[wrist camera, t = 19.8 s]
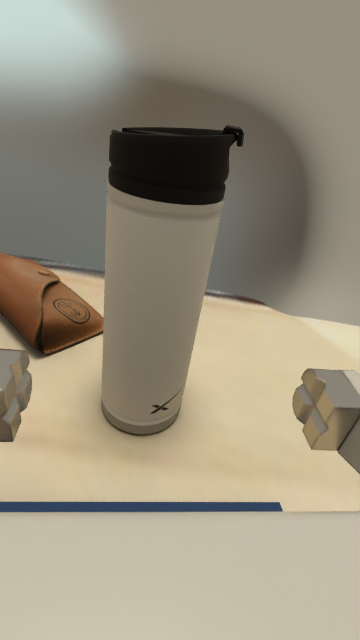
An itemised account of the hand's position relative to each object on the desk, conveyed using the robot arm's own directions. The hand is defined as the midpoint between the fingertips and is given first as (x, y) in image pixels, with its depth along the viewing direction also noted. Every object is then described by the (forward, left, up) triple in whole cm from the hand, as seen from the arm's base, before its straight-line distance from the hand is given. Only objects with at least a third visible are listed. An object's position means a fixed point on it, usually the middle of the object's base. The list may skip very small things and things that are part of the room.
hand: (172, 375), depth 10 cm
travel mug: (0, +12, -14) cm, 18 cm away
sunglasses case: (-12, +26, -14) cm, 32 cm away
